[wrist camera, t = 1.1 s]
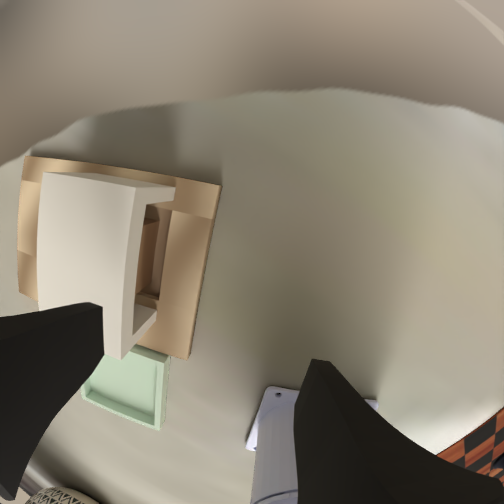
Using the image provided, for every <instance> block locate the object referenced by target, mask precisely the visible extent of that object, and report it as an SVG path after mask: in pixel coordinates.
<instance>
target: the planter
mask: <svg viewBox="0 0 504 504" xmlns="http://www.w3.org/2000/svg"><path fill="white" fill-rule="evenodd" d="M25 504H99V503H98V502H97V501H95V500H94V499H92V498H90V497H89V496H87V495H85V494H83V493H81V492H79V491H76V490H73V489H70V488H63V487H51V488H46V489H43V490H41V491H39V492H37V493H36V494H34V495H33V496H32V497H31V498H30V499H29V500H28V501H27V502H26V503H25Z"/></svg>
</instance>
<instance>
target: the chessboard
mask: <svg viewBox="0 0 504 504" xmlns="http://www.w3.org/2000/svg"><path fill="white" fill-rule="evenodd" d="M436 456H438V457H440V458H442V459H444V460H446V461H448V462H450V463H453V464H455V465H457V466H460V467H462V468H465V469H467V470H470V471H473V472H477V473H480V474H483V475H487V476H491V477H494V478H498V479H499V480H500V481H501V482H502V484H503V486H504V407H503V408H502V409H501V410H500V411H499V412H497V413H496V414H495V415H494V416H493V417H491V418H490V419H489V420H487V421H486V422H485V423H483V424H482V425H481V426H479V427H478V428H477V429H475V430H474V431H473V432H471V433H470V434H468V435H467V436H465V437H464V438H462V439H461V440H459V441H458V442H456V443H455V444H453V445H452V446H450V447H449V448H447V449H445V450H444V451H442V452H440V453H439V454H437V455H436Z"/></svg>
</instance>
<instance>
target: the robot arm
mask: <svg viewBox="0 0 504 504" xmlns="http://www.w3.org/2000/svg"><path fill="white" fill-rule="evenodd" d="M104 355H105V354H104V335H103V307H102V306H99V305H96V304H94V303H91V302H83V303H76V304H71V305H66V306H61V307H56V308H52V309H47V310H42V311H37V312H32V313H26V314H20V315H14V316H6V317H0V496H1V497H2V498H4V499H5V500H8V501H11V500H15V497H16V493H17V490H18V487H19V485H20V482H21V479H22V476H23V473H24V471H25V469H26V467H27V464H28V462H29V460H30V458H31V456H32V454H33V452H34V450H35V448H36V446H37V445H38V443H39V441H40V439H41V437H42V436H43V434H44V432H45V431H46V429H47V428H48V426H49V425H50V423H51V421H52V420H53V419H54V417H55V416H56V415H57V413H58V412H59V411H60V410H61V409H62V408H63V406H64V405H65V404H66V403H67V402H68V401H69V400H70V398H71V397H72V396H73V395H74V394H75V393H76V392H77V391H78V389H79V388H80V387H81V386H82V385H83V384H84V383H85V382H86V380H87V379H88V378H89V377H90V376H91V375H92V373H93V372H94V370H95V369H96V367H97V366H98V364H99V363H100V361H101V359H102V358H103V356H104ZM276 393H281V394H279V395H277V394H276ZM378 406H379V404H378V402H377V401H376V400H368V399H363V398H362V397H361V396H360V394H359V393H358V392H357V391H356V390H355V389H354V388H353V387H352V386H351V385H350V383H349V382H348V381H347V380H346V379H345V378H344V377H343V375H342V374H341V373H340V372H339V371H338V370H337V369H336V367H335V366H334V365H333V364H332V363H331V362H330V361H323V360H316V359H312V360H311V362H310V365H309V368H308V371H307V373H306V376H305V379H304V381H303V384H302V387H301V389H300V391H296V390H290V389H285V388H279V387H274V386H270V387H268V388H266V390H265V393H264V396H263V399H262V401H261V404H260V407H259V410H258V413H257V415H256V418H255V421H254V423H253V426H252V429H251V431H250V434H249V437H248V439H247V442H246V446H245V447H246V449H248V450H251V451H256V456H255V465H254V475H253V484H252V493H251V502H250V504H504V486H503V484H502V482H501V481H500V480H499V479H498V478H494V477H491V476H487V475H483V474H480V473H477V472H473V471H470V470H467V469H465V468H462V467H460V466H457V465H455V464H453V463H450V462H448V461H446V460H444V459H442V458H440V457H438V456H436V455H434V454H433V453H431V452H429V451H428V450H426V449H424V448H423V447H421V446H419V445H418V444H416V443H415V442H413V441H412V440H410V439H409V438H407V437H406V436H405V435H403V434H402V433H401V432H399V431H398V430H397V429H396V428H394V427H393V426H392V425H391V424H389V423H388V422H387V421H386V420H385V419H384V418H383V417H382V416H381V415H379V414H378V413H377V412H376V410H377V408H378ZM0 504H1V503H0Z"/></svg>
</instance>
